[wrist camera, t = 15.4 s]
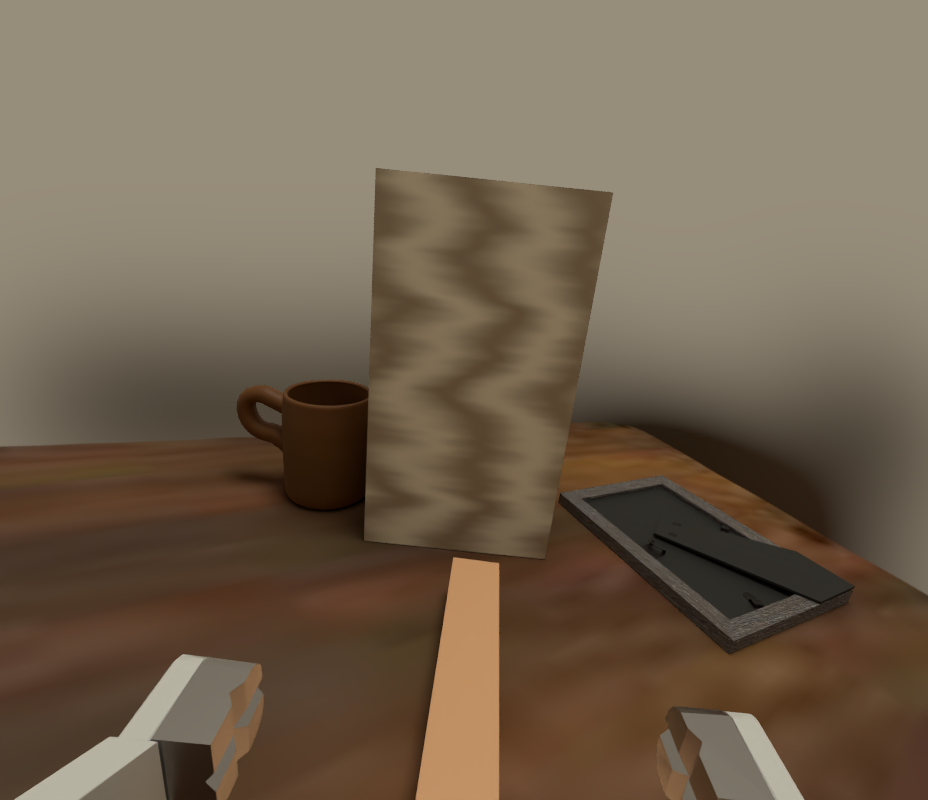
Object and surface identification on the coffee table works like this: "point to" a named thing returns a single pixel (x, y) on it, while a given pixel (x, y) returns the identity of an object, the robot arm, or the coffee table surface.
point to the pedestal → (475, 356)
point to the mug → (315, 438)
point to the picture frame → (707, 560)
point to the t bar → (465, 691)
